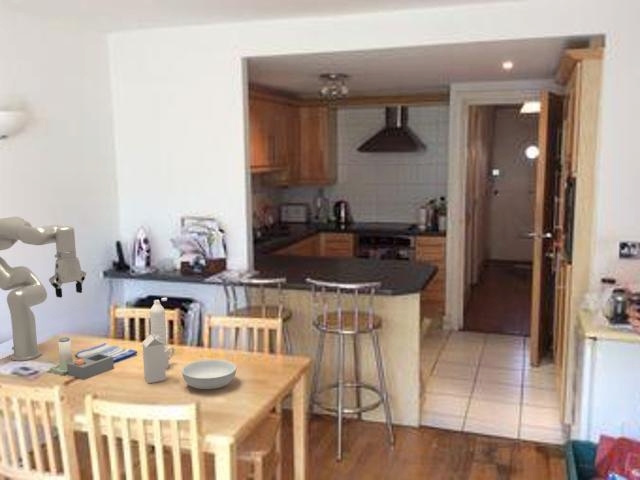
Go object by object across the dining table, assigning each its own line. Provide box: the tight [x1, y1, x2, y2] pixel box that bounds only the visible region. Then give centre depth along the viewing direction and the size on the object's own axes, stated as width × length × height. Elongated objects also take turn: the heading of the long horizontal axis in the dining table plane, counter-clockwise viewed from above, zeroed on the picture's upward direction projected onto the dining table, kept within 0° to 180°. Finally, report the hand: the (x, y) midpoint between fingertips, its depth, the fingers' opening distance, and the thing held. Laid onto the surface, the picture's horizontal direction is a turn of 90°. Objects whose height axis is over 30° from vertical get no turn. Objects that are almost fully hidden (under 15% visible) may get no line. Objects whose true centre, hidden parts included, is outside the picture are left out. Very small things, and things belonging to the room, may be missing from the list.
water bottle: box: [149, 297, 168, 347], centre depth 271 cm, size 9×6×25 cm
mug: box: [164, 345, 175, 371], centre depth 254 cm, size 13×10×8 cm
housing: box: [67, 353, 115, 380], centre depth 250 cm, size 10×15×5 cm, turn 148°
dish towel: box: [74, 342, 138, 364], centre depth 270 cm, size 17×24×3 cm
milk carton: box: [142, 331, 167, 384], centre depth 240 cm, size 7×7×19 cm
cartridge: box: [57, 337, 73, 370], centre depth 251 cm, size 5×5×13 cm
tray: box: [49, 364, 69, 377], centre depth 252 cm, size 9×9×2 cm
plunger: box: [75, 358, 84, 366], centre depth 246 cm, size 3×3×4 cm
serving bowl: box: [181, 358, 237, 390], centre depth 234 cm, size 21×21×7 cm
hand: (69, 294), depth 258 cm, fingers open, 9 cm apart
